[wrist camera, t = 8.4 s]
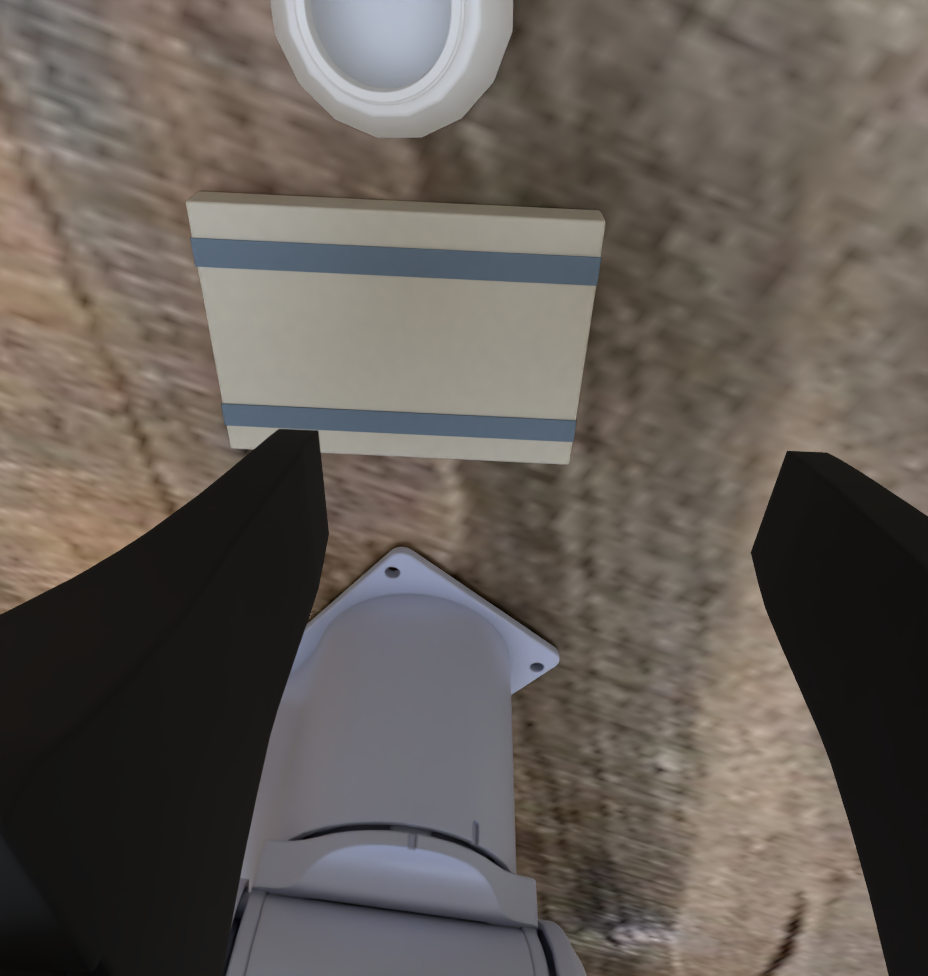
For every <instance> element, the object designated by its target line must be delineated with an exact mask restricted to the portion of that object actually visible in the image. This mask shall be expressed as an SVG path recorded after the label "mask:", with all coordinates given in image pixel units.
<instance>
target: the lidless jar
mask: <svg viewBox="0 0 928 976" xmlns="http://www.w3.org/2000/svg"><path fill="white" fill-rule="evenodd" d="M270 4H271V11H272V18H273V25H274V32H275V36H276V38H277V40H278V42H279V44H280V46H281V48H282V50H283V52H284V54H285V56H286V58H287V60H288V62H289V64H290V66H291V68H292V70H293V72H294V74H295V77H296V79H297V81H298V83H299V85H301V86H302V87H303V88H304V89H305V90H306V91H307V92H308V93H309V94H310V95H311V96H312V97H313V98H314V99H315V100H316V101H317V102H318V103H319V104H320V105H321V106H322V107H323V108H324V109H325V110H326V111H327V112H328V113H329V114H330V115H331V116H332V117H333V118H334V119H335V120H337V121H339V122H341V123H344V124H346V125H348V126H351V127H353V128H355V129H358V130H360V131H362V132H365V133H367V134H369V135H372V136H374V137H376V138H422V137H424V136H426V135H428V134H430V133H432V132H434V131H436V130H439V129H441V128H443V127H445V126H447V125H449V124H451V123H453V122H455V121H457V120H460V119H462V118H463V117H464V115H465V114H466V113H467V112H468V111H469V110H470V109H471V107H472V106H473V105H474V104H475V103H476V102H477V101H478V99H479V98H480V97H481V96H482V95H483V94H484V92H485V91H486V90H487V89H488V88H489V87H490V86H491V84H492V83H493V82H494V80H495V77H496V75H497V72H498V69H499V66H500V64H501V61H502V58H503V56H504V53H505V50H506V48H507V45H508V42H509V39H510V37H511V34H512V31H513V0H270Z"/></svg>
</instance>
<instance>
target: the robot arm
mask: <svg viewBox="0 0 928 976" xmlns="http://www.w3.org/2000/svg"><path fill="white" fill-rule="evenodd" d="M328 535H329V531H328V521H327V511H326V501H325V491H324V481H323V472H322V462H321V452H320V442H319V432H318V430H296V429H278V430H277V431H275V432H274V433H273V434H272V435H270V436H269V437H268V438H267V439H265V440H264V441H263V442H262V443H261V444H260V445H258V446H257V447H256V448H255V449H254V450H252V451H251V452H250V453H249V454H248V455H247V456H245V457H244V458H243V459H242V460H241V461H240V462H238V463H237V464H236V465H235V466H234V467H232V468H231V469H230V470H229V471H227V472H226V473H225V474H224V475H223V476H221V477H220V478H219V479H218V480H216V481H215V482H214V483H213V484H212V485H210V486H209V487H208V488H207V489H205V490H204V491H203V492H202V493H200V494H199V495H198V496H197V497H195V498H194V499H192V500H191V501H190V502H188V503H187V504H186V505H184V506H183V507H182V508H180V509H179V510H177V511H176V512H175V513H173V514H172V515H171V516H169V517H168V518H166V519H165V520H164V521H162V522H161V523H160V524H158V525H157V526H156V527H154V528H153V529H151V530H150V531H149V532H147V533H146V534H144V535H143V536H141V537H140V538H138V539H137V540H135V541H134V542H132V543H131V544H129V545H127V546H126V547H124V548H123V549H121V550H120V551H118V552H116V553H115V554H113V555H111V556H110V557H108V558H106V559H105V560H103V561H101V562H100V563H98V564H96V565H95V566H93V567H91V568H90V569H88V570H86V571H84V572H83V573H81V574H79V575H77V576H75V577H74V578H72V579H70V580H68V581H66V582H64V583H62V584H60V585H58V586H56V587H54V588H52V589H50V590H48V591H46V592H44V593H43V594H41V595H39V596H37V597H35V598H33V599H31V600H29V601H27V602H25V603H23V604H21V605H19V606H17V607H15V608H13V609H11V610H9V611H7V612H5V613H3V614H1V615H0V976H587V975H586V973H585V970H584V967H583V965H582V963H581V961H580V959H579V958H578V956H577V954H576V953H575V951H574V950H573V948H572V946H571V944H570V941H569V939H568V938H567V936H566V935H565V933H564V931H563V930H562V928H561V927H559V926H558V925H557V924H556V923H554V922H552V921H547V920H540V919H538V917H537V897H536V881H535V880H534V879H533V878H530V877H525V876H520V875H517V874H516V844H515V810H514V776H513V742H512V708H511V695H512V694H513V693H515V692H517V691H518V690H520V689H521V688H523V687H524V686H526V685H527V684H529V683H530V682H532V681H533V680H535V679H536V678H538V677H540V676H541V675H543V674H544V673H546V672H547V671H549V670H550V669H552V668H553V667H555V666H556V665H557V664H558V663H559V660H560V659H559V652H558V650H557V649H556V648H555V647H554V646H552V645H551V644H550V643H548V642H547V641H545V640H544V639H542V638H541V637H539V636H538V635H536V634H535V633H533V632H532V631H530V630H529V629H528V628H526V627H525V626H523V625H522V624H520V623H519V622H517V621H516V620H514V619H513V618H511V617H510V616H508V615H507V614H505V613H504V612H503V611H501V610H500V609H498V608H497V607H495V606H494V605H492V604H491V603H489V602H488V601H486V600H485V599H483V598H482V597H480V596H479V595H478V594H476V593H475V592H473V591H472V590H470V589H469V588H467V587H466V586H464V585H463V584H461V583H460V582H458V581H457V580H456V579H454V578H453V577H451V576H450V575H448V574H447V573H445V572H444V571H442V570H441V569H439V568H438V567H436V566H435V565H433V564H432V563H431V562H429V561H428V560H426V559H425V558H423V557H422V556H420V555H419V554H417V553H416V552H414V551H413V550H411V549H409V548H407V547H397V548H394V549H392V550H391V551H390V552H389V553H387V554H386V555H385V556H384V557H383V558H382V559H381V560H379V561H378V562H377V563H376V564H375V565H374V566H373V567H371V568H370V569H369V570H368V571H367V572H366V573H365V574H363V575H362V576H361V577H360V578H359V579H358V580H357V581H355V582H354V583H353V584H352V585H351V586H350V587H349V588H347V589H346V590H345V591H344V592H343V593H342V594H341V595H339V596H338V597H337V598H336V599H335V600H334V601H333V602H332V603H330V604H329V605H328V606H327V607H326V608H325V609H324V610H322V611H321V612H320V613H319V614H318V615H317V616H316V617H314V618H313V619H312V620H311V621H310V622H309V623H308V624H307V622H308V618H309V615H310V612H311V609H312V606H313V603H314V600H315V597H316V594H317V591H318V588H319V583H320V578H321V573H322V568H323V563H324V557H325V552H326V546H327V541H328ZM751 555H752V559H753V563H754V567H755V572H756V576H757V580H758V584H759V587H760V591H761V594H762V598H763V601H764V605H765V608H766V611H767V613H768V616H769V618H770V621H771V623H772V625H773V628H774V630H775V632H776V635H777V637H778V640H779V642H780V644H781V647H782V649H783V651H784V654H785V656H786V658H787V660H788V663H789V665H790V667H791V670H792V672H793V674H794V676H795V679H796V681H797V683H798V686H799V688H800V690H801V692H802V695H803V697H804V699H805V702H806V704H807V706H808V708H809V711H810V713H811V715H812V718H813V720H814V722H815V724H816V727H817V729H818V731H819V734H820V736H821V739H822V742H823V744H824V747H825V749H826V752H827V755H828V757H829V760H830V763H831V766H832V769H833V772H834V775H835V779H836V782H837V785H838V788H839V791H840V795H841V798H842V801H843V804H844V808H845V811H846V814H847V817H848V820H849V824H850V827H851V831H852V834H853V838H854V842H855V845H856V849H857V852H858V856H859V860H860V863H861V867H862V870H863V874H864V878H865V881H866V885H867V888H868V892H869V896H870V900H871V904H872V908H873V912H874V917H875V921H876V925H877V929H878V933H879V937H880V941H881V945H882V949H883V954H884V958H885V962H886V966H887V970H888V974H889V976H928V516H926V515H925V514H923V513H922V512H920V511H919V510H917V509H916V508H914V507H913V506H911V505H910V504H908V503H907V502H905V501H904V500H902V499H901V498H899V497H898V496H896V495H895V494H893V493H892V492H890V491H889V490H887V489H886V488H884V487H883V486H881V485H880V484H878V483H877V482H875V481H874V480H872V479H871V478H869V477H868V476H866V475H864V474H863V473H861V472H860V471H858V470H857V469H855V468H853V467H852V466H850V465H848V464H847V463H845V462H843V461H842V460H840V459H838V458H836V457H834V456H832V455H831V454H829V453H822V452H799V451H787V453H786V455H785V458H784V461H783V464H782V467H781V469H780V472H779V475H778V478H777V481H776V483H775V486H774V489H773V492H772V495H771V497H770V500H769V503H768V506H767V509H766V511H765V514H764V517H763V520H762V523H761V525H760V528H759V531H758V534H757V537H756V539H755V542H754V545H753V548H752V551H751ZM388 567H395V568H397V569H398V570H390V569H388ZM534 663H538V664H534Z"/></svg>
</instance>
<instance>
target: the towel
mask: <svg viewBox="0 0 928 976" xmlns="http://www.w3.org/2000/svg"><path fill="white" fill-rule="evenodd" d="M186 207H187V212H188V218H189V223H190V228H191V234H192V238H190V239H191V245H192V250H193V256H194V261H195V266H196V267H198V272H199V277H200V283H201V288H202V294H203V299H204V304H205V310H206V315H207V321H208V326H209V332H210V337H211V342H212V348H213V353H214V359H215V364H216V370H217V375H218V380H219V386H220V391H221V397H222V402H223V403H222V404H221V406H222V412H223V417H224V422H225V425H226V426H227V429H228V435H229V440H230V446H231V448H234V449H255V448H256V447H257V446H258V445H260V444H261V443H262V442H263V441H264V440H265V439H267V438H268V437H269V436H270V435H272V434H273V433H274V432H275V431H277V430H278V429H296V430H318V432H319V442H320V452H321V453H338V454H359V455H380V456H401V457H422V458H442V459H463V460H484V461H505V462H525V463H546V464H569V462H570V456H571V449H572V442H573V441H574V434H575V428H576V416H577V409H578V403H579V396H580V389H581V383H582V376H583V370H584V363H585V356H586V350H587V343H588V337H589V330H590V323H591V317H592V310H593V304H594V297H595V290H596V286H597V283H598V276H599V270H600V263H601V251H602V244H603V238H604V231H605V224H606V223H605V220H604V218H603V216H602V213H601V211H599V210H581V209H560V208H539V207H518V206H498V205H477V204H456V203H435V202H414V201H393V200H372V199H351V198H330V197H309V196H288V195H267V194H246V193H225V192H204V191H200V192H198V193H196V194H195V195H194V196H193V197H191V198H190V199H189V200H187V201H186Z"/></svg>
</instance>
